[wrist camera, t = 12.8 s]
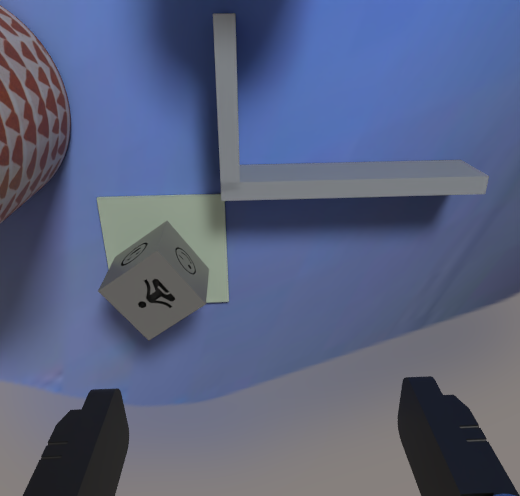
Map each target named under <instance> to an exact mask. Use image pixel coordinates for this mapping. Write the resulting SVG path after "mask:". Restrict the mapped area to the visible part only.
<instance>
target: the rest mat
mask: <svg viewBox="0 0 520 496" xmlns="http://www.w3.org/2000/svg"><path fill="white" fill-rule="evenodd" d="M97 204H98V210H99V215H100V221H101V227H102V233H103V239H104V245H105V250H106V256H107V262H108V268H110V266H111V264H112V262H113V260H114V258H115V257H116V256H117V255H118V254H120V253H121V252H123V251H124V250H126V249H127V248H128V247H130V246H131V245H133V244H134V243H136V242H137V241H138V240H140V239H141V238H143V237H144V236H146V235H147V234H148V233H150V232H151V231H153V230H154V229H155V228H157V227H158V226H160V225H161V224H163V223H164V222H165V221H168V222H169V223H170V224H171V225H172V226H173V228H174V229H175V230H176V231H177V232H178V233H179V235H180V236H181V237H182V238H183V239H184V240H185V242H186V243H187V244H188V245H189V246H190V247H191V248H192V250H193V251H194V252H195V253H196V254H197V255H198V257H199V258H200V259H201V260H202V261H203V262H204V263H205V265H206V266H207V267H208V268H209V276H208V287H207V298H206V303H209V302H229V292H228V268H227V245H226V222H225V201H221V194H195V195H157V196H118V197H97Z"/></svg>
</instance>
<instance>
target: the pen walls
mask: <svg viewBox="0 0 520 496" xmlns="http://www.w3.org/2000/svg"><path fill="white" fill-rule="evenodd" d="M213 29H214V50H215V72H216V94H217V115H218V137H219V159H220V181H221V201H241V200H278V199H316V198H353V197H391V196H428V195H466V194H485V192H486V188H487V183H488V178H489V176H488V175H486V174H484V173H483V172H481V171H479V170H477V169H476V168H474V167H472V166H470V165H469V164H467V163H465V162H464V161H462V160H434V161H390V162H346V163H302V164H258V165H239V132H238V95H237V58H236V21H235V13H232V14H213Z"/></svg>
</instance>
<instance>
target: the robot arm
mask: <svg viewBox="0 0 520 496" xmlns="http://www.w3.org/2000/svg"><path fill="white" fill-rule="evenodd" d="M398 430H399V435H400V439H401V442H402V445H403V447H404V450H405V453H406V455H407V458H408V461H409V464H410V466H411V469H412V471H413V474H414V477H415V480H416V483H417V485H418V488H419V490H420V493H421V496H519V494H518V492H517V491H516V489H515V487H514V486H513V484H512V482H511V480H510V479H509V477H508V475H507V473H506V472H505V470H504V468H503V466H502V465H501V463H500V461H499V460H498V458H497V456H496V455H495V453H494V451H493V449H492V447H491V446H490V444H489V442H487V441H486V437H485V435H484V433H483V432H482V430H481V428H479V426H478V423H477V422H476V420H475V418H474V416H473V415H472V413H471V411H470V409H469V408H468V407H467V406H465V404H463V403H462V402H461V401H460V400H459V399H458V398H457V397H456V396H454V395H443V394H442V393H441V391H440V389H439V387H438V385H437V383H436V381H435V380H434V378H433V377H408V378H404V379H403V383H402V390H401V398H400V404H399V411H398ZM128 444H129V428H128V423H127V418H126V414H125V409H124V404H123V400H122V395H121V392H120V390H119V389H96V390H91V391H90V392H89V394H88V396H87V398H86V400H85V403H84V405H83V407H82V409H81V410H70V411H69V412H68V413H67V414H66V415H65V416H64V417H63V418H62V420H61V421H60V422H59V423H58V424H57V425H56V426H55V429H54V431H53V433H52V435H51V437H50V439H49V441H48V446H46V448H45V450H44V452H43V454H42V456H41V457H42V458H41V460H39V462H38V465H37V467H36V469H35V471H34V473H33V475H32V477H31V479H30V481H29V484H28V486H27V488H26V490H25V492H24V494H23V496H115V493H116V489H117V486H118V482H119V479H120V475H121V471H122V468H123V464H124V461H125V457H126V454H127V449H128Z"/></svg>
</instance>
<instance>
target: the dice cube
mask: <svg viewBox="0 0 520 496" xmlns="http://www.w3.org/2000/svg"><path fill="white" fill-rule="evenodd" d="M208 276H209V268H208V267H207V266H206V265H205V263H204V262H203V261H202V260H201V259H200V258H199V257H198V255H197V254H196V253H195V252H194V251H193V250H192V248H191V247H190V246H189V245H188V244H187V243H186V242H185V240H184V239H183V238H182V237H181V236H180V235H179V233H178V232H177V231H176V230H175V229H174V228H173V226H172V225H171V224H170V223H169V222H168V221H165V222H164V223H163V224H161V225H160V226H158V227H157V228H155V229H154V230H153V231H151V232H150V233H148V234H147V235H146V236H144V237H143V238H141V239H140V240H138V241H137V242H136V243H134V244H133V245H131V246H130V247H128V248H127V249H126V250H124V251H123V252H121V253H120V254H118V255H117V256H116V257H115V258H114V260H113V262H112V264H111V266H110V268H109V270H108V272H107V274H106V276H105V278H104V280H103V282H102V284H101V286H100V288H99V290H98V292H99V293H101V294H102V295H103V296H104V297H105V298H106V299H107V300H108V301H109V302H110V303H111V304H112V305H113V306H114V307H115V308H116V309H117V310H118V311H119V312H120V313H121V314H122V315H123V316H124V317H125V318H126V319H127V320H128V321H129V322H130V323H131V324H132V325H133V326H134V327H135V328H136V329H137V330H138V331H139V332H140V333H141V334H142V335H144V336H145V337H146V338H147V339H148V340H151V339H152V338H154V337H155V336H157V335H158V334H160V333H162V332H163V331H165V330H166V329H168V328H169V327H171V326H172V325H174V324H176V323H177V322H179V321H180V320H182V319H183V318H185V317H187V316H188V315H190V314H191V313H193V312H194V311H196V310H198V309H199V308H201V307H202V306H204V305H205V304H206V298H207V287H208Z"/></svg>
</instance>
